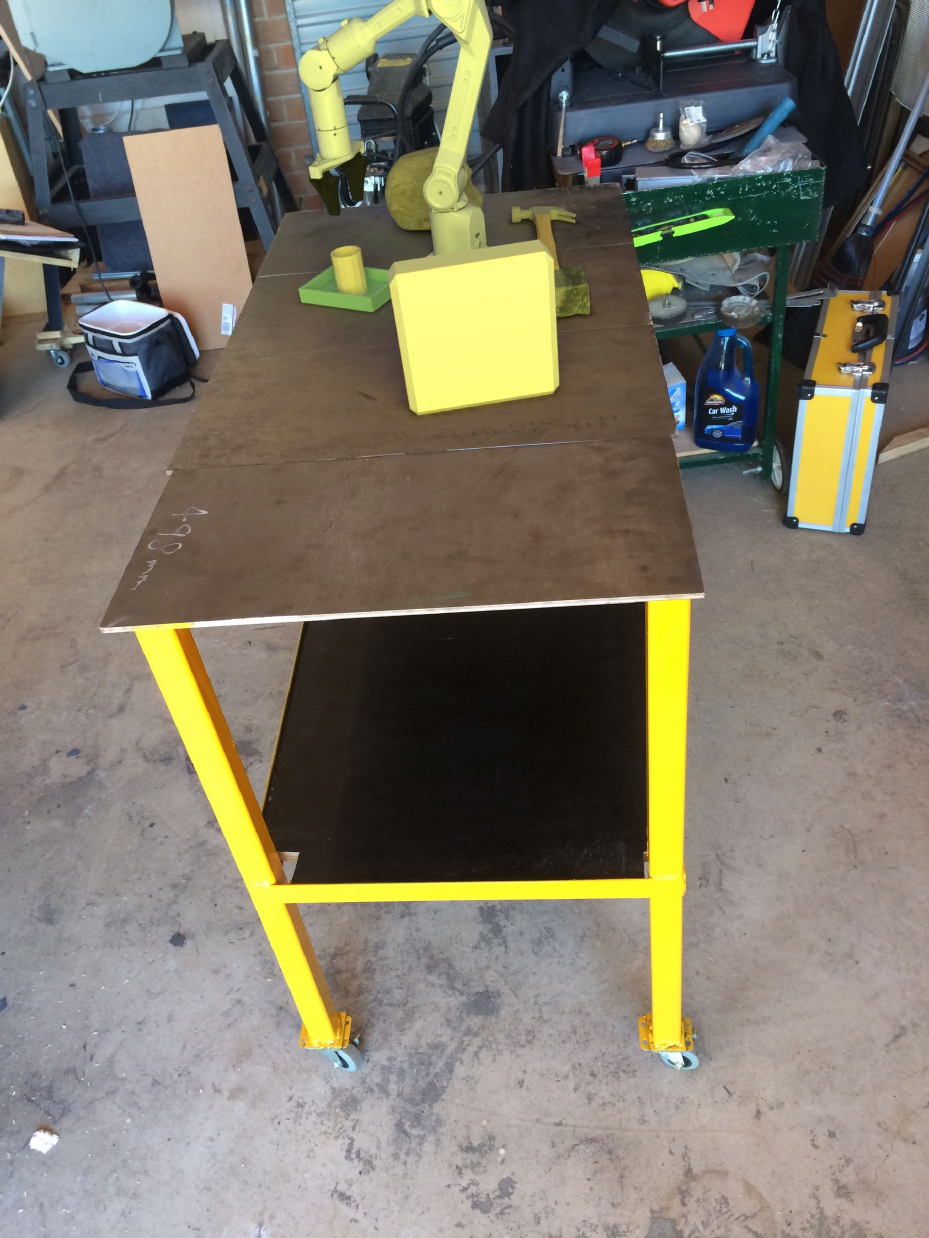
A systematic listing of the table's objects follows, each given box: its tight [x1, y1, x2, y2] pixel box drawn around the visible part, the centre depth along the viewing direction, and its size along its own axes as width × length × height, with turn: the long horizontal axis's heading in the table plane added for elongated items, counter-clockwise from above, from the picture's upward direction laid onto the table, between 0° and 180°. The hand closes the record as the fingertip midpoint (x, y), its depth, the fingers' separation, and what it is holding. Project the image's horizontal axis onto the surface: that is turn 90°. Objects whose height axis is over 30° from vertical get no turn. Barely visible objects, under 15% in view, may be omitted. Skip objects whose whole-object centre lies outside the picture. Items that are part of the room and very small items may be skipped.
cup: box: [330, 245, 368, 295], centre depth 162 cm, size 5×5×7 cm
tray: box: [298, 265, 392, 313], centre depth 164 cm, size 15×11×2 cm
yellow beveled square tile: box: [388, 239, 560, 416], centre depth 126 cm, size 21×8×20 cm, turn 97°
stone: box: [384, 145, 484, 231], centre depth 179 cm, size 19×7×15 cm, turn 77°
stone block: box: [554, 265, 591, 318], centre depth 150 cm, size 9×14×5 cm, turn 92°
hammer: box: [511, 205, 576, 270], centre depth 171 cm, size 12×3×30 cm
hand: (346, 207), depth 171 cm, fingers open, 7 cm apart
